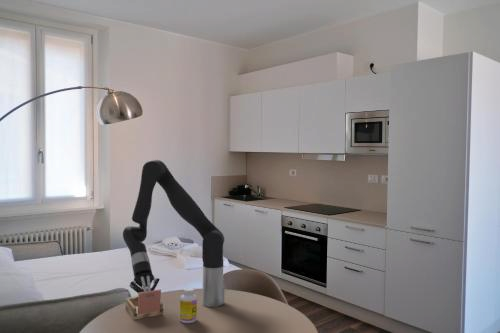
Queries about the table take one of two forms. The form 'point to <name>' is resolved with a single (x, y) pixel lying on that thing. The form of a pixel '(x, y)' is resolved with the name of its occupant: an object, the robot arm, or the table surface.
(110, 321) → the table surface
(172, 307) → the table surface
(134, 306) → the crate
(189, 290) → the supplement bottle
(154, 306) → the panel
